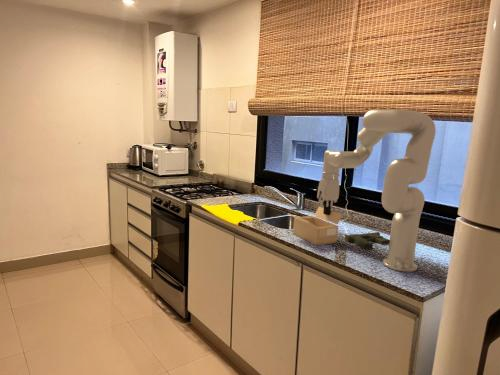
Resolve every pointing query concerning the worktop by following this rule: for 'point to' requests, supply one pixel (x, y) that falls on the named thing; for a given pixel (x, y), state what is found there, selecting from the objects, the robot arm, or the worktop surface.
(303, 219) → the front flap
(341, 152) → the robot arm
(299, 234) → the carton
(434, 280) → the worktop surface
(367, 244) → the firearm
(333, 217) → the back flap
